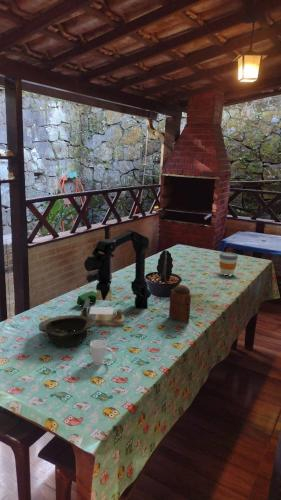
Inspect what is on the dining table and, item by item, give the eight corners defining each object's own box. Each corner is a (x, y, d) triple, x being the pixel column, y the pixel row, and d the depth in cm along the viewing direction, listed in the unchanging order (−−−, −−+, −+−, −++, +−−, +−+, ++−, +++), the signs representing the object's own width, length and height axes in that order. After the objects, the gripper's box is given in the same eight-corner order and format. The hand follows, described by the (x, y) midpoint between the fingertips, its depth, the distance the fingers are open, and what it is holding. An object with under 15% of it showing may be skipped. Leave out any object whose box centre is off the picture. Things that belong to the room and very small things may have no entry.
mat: (113, 308, 195) (113, 307, 195) (112, 315, 187) (112, 314, 186) (91, 308, 195) (91, 307, 195) (89, 315, 186) (89, 313, 186)
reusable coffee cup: (238, 273, 265) (240, 253, 261) (232, 278, 255) (234, 257, 251) (221, 270, 272) (223, 251, 268) (215, 274, 261) (217, 254, 258)
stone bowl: (70, 358, 145) (68, 336, 143) (27, 344, 159) (24, 324, 157) (107, 334, 166) (106, 314, 164) (66, 323, 179) (65, 305, 177)
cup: (94, 356, 148) (94, 337, 146) (117, 361, 145) (117, 343, 143) (86, 364, 142) (86, 345, 140) (109, 370, 138) (109, 351, 137)
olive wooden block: (111, 297, 178) (111, 289, 177) (111, 300, 175) (111, 292, 174) (97, 297, 178) (97, 289, 177) (96, 300, 174) (96, 292, 173)
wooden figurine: (192, 319, 186) (195, 286, 182) (187, 324, 181) (190, 289, 176) (171, 314, 192) (173, 281, 187) (166, 318, 186) (168, 284, 182)
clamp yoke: (89, 316, 184) (89, 299, 182) (86, 325, 174) (86, 308, 171) (85, 316, 184) (85, 299, 182) (83, 325, 174) (83, 308, 171)
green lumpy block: (85, 314, 197) (83, 303, 191) (77, 309, 200) (75, 298, 194) (100, 301, 204) (99, 290, 198) (93, 296, 207) (91, 285, 201)
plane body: (124, 319, 183) (124, 308, 181) (124, 325, 176) (124, 314, 175) (80, 318, 182) (80, 306, 181) (78, 324, 175) (78, 312, 174)
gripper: (89, 261, 181) (89, 290, 185) (85, 272, 163) (84, 305, 167) (112, 261, 182) (111, 291, 185) (110, 273, 164) (109, 305, 167)
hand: (104, 298), depth 176 cm, fingers closed on olive wooden block, 4 cm apart
